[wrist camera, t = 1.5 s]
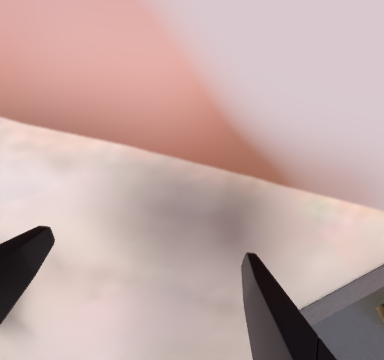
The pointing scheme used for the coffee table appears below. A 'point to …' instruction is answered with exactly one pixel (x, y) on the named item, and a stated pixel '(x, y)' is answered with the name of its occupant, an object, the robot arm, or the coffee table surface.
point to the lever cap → (381, 311)
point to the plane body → (351, 318)
